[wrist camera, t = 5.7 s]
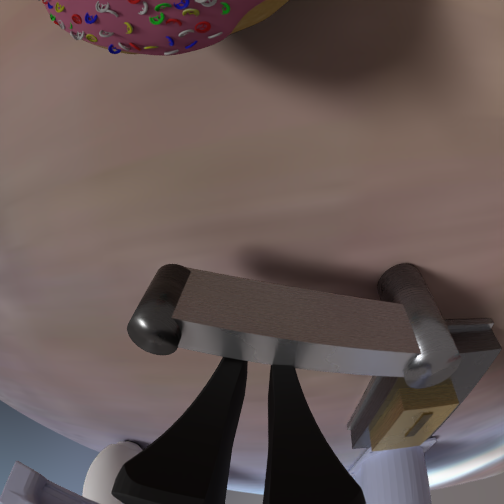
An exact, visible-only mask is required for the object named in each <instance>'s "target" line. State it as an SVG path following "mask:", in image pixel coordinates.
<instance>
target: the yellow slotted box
mask: <svg viewBox="0 0 504 504" xmlns="http://www.w3.org/2000/svg"><path fill="white" fill-rule="evenodd" d="M458 404H459V401H458V398H457V395H456V392H455V389H454V386H453V383H452V384H444V385H435V386H431V387H428V388H421V389H417V388H402V389H399V390H398V391H397V393H396V394H395V396H394V398H393V399H392V401H391V402H390V404H389V405H388V407H387V408H386V410H385V411H384V413H383V414H382V416H381V417H380V419H379V420H378V422H377V423H376V425H375V426H374V427H373V429H372V430H371V432H370V441H371V450H372V451H382V450H391V449H399V448H406V447H413V446H420V445H421V444H422V443H423V442H424V441H425V440H426V439H427V438H428V437H429V436H430V435H431V434H432V433H433V432H434V431H435V430H436V429H437V428H438V427H439V426H440V425H441V423H442V422H443V421H444V420H445V419H446V418H447V417H448V416H449V415H450V413H451V412H452V411H453V410H454V409H455V408H456V406H457V405H458Z"/></svg>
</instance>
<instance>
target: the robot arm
mask: <svg viewBox="0 0 504 504" xmlns="http://www.w3.org/2000/svg"><path fill="white" fill-rule="evenodd" d="M246 380H247V361H245V360H239V359H233V358H228V357H223V358H222V360H221V362H220V363H219V365H218V367H217V369H216V370H215V372H214V373H213V375H212V377H211V378H210V380H209V381H208V383H207V384H206V386H205V387H204V388H203V390H202V391H201V393H200V394H199V395H198V397H197V398H196V399H195V400H194V402H193V403H192V404H191V405H190V407H189V408H188V409H187V410H186V411H185V412H184V413H183V415H182V416H181V417H180V418H179V419H178V420H177V421H176V422H175V423H174V424H173V425H172V426H171V427H170V428H169V429H168V430H167V431H166V432H165V433H164V434H162V435H161V436H160V437H159V438H158V439H156V440H155V441H154V442H153V443H152V444H150V445H149V446H148V447H147V448H145V449H144V450H143V451H141V452H140V453H138V454H137V455H136V456H134V457H133V458H131V459H130V460H128V461H127V462H125V463H124V464H123V466H122V468H121V469H120V471H119V473H118V475H117V477H116V479H115V482H114V485H113V488H112V492H111V494H112V495H113V496H114V497H115V498H116V499H118V500H119V501H121V502H122V503H124V504H225V498H226V490H227V482H228V475H229V468H230V460H231V453H232V447H233V442H234V438H235V433H236V429H237V425H238V421H239V417H240V413H241V409H242V405H243V400H244V396H245V388H246ZM436 441H437V439H436V438H429V439H428V440H426V441H424V442H423V443H422V444H421V445H420V446H413V447H406V448H399V449H391V450H382V451H372V450H371V447H370V448H369V449H368V450H367V451H366V452H365V453H364V455H363V456H362V457H361V458H360V459H359V460H358V462H357V463H356V464H355V465H354V466H353V467H352V468H351V470H350V471H349V472H348V471H347V470H346V469H345V467H344V466H343V465H342V463H341V462H340V461H339V459H338V458H337V456H336V455H335V453H334V452H333V450H332V449H331V447H330V446H329V444H328V443H327V441H326V440H325V438H324V436H323V434H322V433H321V431H320V429H319V427H318V425H317V423H316V421H315V419H314V417H313V415H312V413H311V411H310V409H309V406H308V404H307V402H306V399H305V397H304V394H303V392H302V389H301V386H300V383H299V380H298V377H297V374H296V370H295V367H293V366H292V365H274V364H272V365H271V370H270V381H269V392H268V442H269V443H268V459H267V469H266V479H265V488H264V498H263V504H432V503H431V495H430V488H429V481H428V475H427V469H426V463H425V457H424V453H425V452H426V451H427V450H428V449H429V448H430V447H431V446H432V445H433V444H434V443H435V442H436ZM352 476H355V480H354V479H353V478H352ZM0 503H1V504H100V503H97V502H95V501H92V500H90V499H87V498H85V497H83V496H80V495H78V494H76V493H74V492H71V491H69V490H67V489H65V488H63V487H61V486H59V485H57V484H55V483H53V482H51V481H49V480H47V479H46V478H45V477H44V476H42V475H41V474H39V473H38V472H36V471H34V470H33V469H31V468H29V467H27V466H26V465H24V464H22V463H21V462H19V461H16V462H15V464H14V466H13V468H12V471H11V473H10V475H9V478H8V480H7V482H6V485H5V487H4V489H3V492H2V494H1V497H0Z"/></svg>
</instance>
